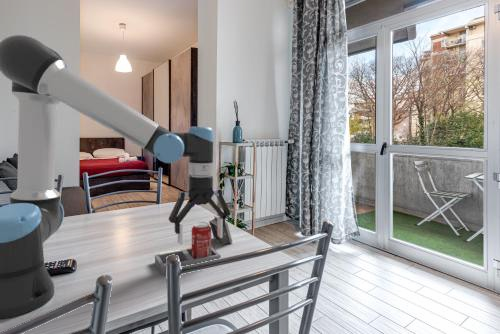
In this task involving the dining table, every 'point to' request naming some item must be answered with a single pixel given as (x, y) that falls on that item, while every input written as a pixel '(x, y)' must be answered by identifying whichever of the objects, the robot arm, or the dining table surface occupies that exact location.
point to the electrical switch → (226, 232)
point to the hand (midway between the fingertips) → (200, 239)
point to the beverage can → (201, 240)
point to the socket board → (184, 255)
